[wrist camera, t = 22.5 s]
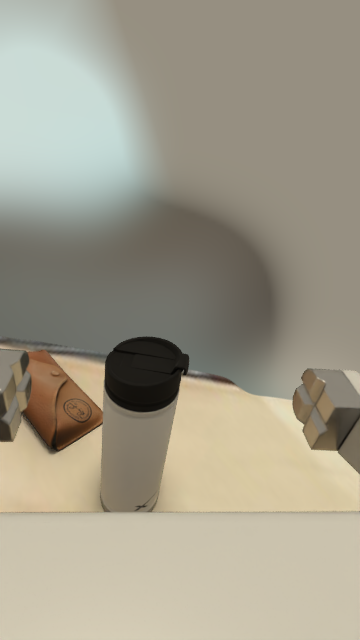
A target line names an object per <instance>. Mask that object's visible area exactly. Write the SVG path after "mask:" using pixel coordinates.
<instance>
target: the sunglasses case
mask: <svg viewBox="0 0 360 640" xmlns="http://www.w3.org/2000/svg"><path fill="white" fill-rule="evenodd" d="M28 356H29V365H28V367H27V369H26V370H27V371H28V372H29V373H30V374H31V378H32V390H31V395H30V400H29V403H28V405H27V408H26V409H24V410H23V413H24V414H25V415H26V417H27V418H28V419H29V420H30V422H31V423H32V425H33V426H34V427H35V429H36V430H37V431H38V433H39V434H40V436H41V437H42V438H43V440H44V441H45V442H46V443H47V445H48V446H49V447H50V448H52V449H54V450H61V449H63V448H65V447H66V446H68V445H70V444H72V443H73V442H75V441H77V440H78V439H80V438H81V437H83V436H84V435H86V434H87V433H89V432H90V431H92V430H93V429H95V428H96V427H98V426H99V425H101V424H102V423H103V412H102V411H101V409H100V408H99V407H98V406H97V405H96V404H95V403H94V402H93V401H92V400H91V399H90V398H89V397H88V396H87V395H86V394H85V393H84V392H83V391H82V390H81V389H80V388H79V387H78V385H77V384H76V383H75V382H74V381H73V380H72V379H71V378H70V377H69V376H68V375H67V374H66V373H65V372H64V371H63V369H62V368H61V367H60V366H59V365H58V364H57V363H56V362H55V360H54V359H53V358H52V357H51V356H50V355H49V353H48V352H47V351H45V350H41V351H37V352H28Z"/></svg>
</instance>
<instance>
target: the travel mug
mask: <svg viewBox="0 0 360 640" xmlns="http://www.w3.org/2000/svg"><path fill="white" fill-rule="evenodd" d="M188 367H189V356H188V355H187V354H182V352H181V350H180V349H179V348H178V347H177V346H176V345H175V344H173V343H172V342H170V341H167V340H165V339H161V338H156V337H137V338H132V339H129V340H126V341H123V342H121V343H120V344H118V345H117V346H116V347H115V348H114V350H113V351H112V352H110V353H109V355H108V356H107V359H106V362H105V380H104V396H103V428H102V459H101V491H100V498H101V503H102V506H103V508H104V510H105V511H106V512H151V511H152V510H153V508H154V506H155V504H156V502H157V498H158V493H159V488H160V483H161V479H162V474H163V469H164V464H165V459H166V454H167V449H168V444H169V439H170V434H171V429H172V424H173V419H174V414H175V410H176V405H177V400H178V395H179V386H180V381H181V372H182V371H183V370H184V374H183V375H186V374H187V372H188Z"/></svg>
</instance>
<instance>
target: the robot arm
mask: <svg viewBox="0 0 360 640" xmlns="http://www.w3.org/2000/svg"><path fill="white" fill-rule="evenodd" d="M28 365H29V356H28V352H26V351H22V350H11V349H0V442H13V441H14V439H15V436H16V433H17V431H18V428H19V426H20V423H21V415H20V412H22V411H23V410H24V409H26V408H27V405H28V403H29V400H30V395H31V390H32V378H31V374H30V373H29V372H28V371H27V370H26V369H27V367H28ZM301 379H302V381H303V384H302V385H301V386H299V387H298V388H296V390H295V393H294V395H293V410H294V413H295V415H296V418H297V419H298V420H299V421H300V422H302V423H303V424H304V427H303V430H302V431H303V433H304V435H305V437H306V440H307V442H308V444H309V446H310V448H311V450H329V451H338V453H339V454H340V455H341V456H342V457H343V458H344V459H345V460H346V461H347V462H348V463H349V464H350V465H351V466H352V467H353V468H354V469H355V470H356V471H357V472H358V473H359V474H360V374H359V373H357V372H355V371H353V370H326V369H307V370H306V371H304V373H303V375H302V377H301ZM0 640H360V511H301V512H0Z"/></svg>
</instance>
